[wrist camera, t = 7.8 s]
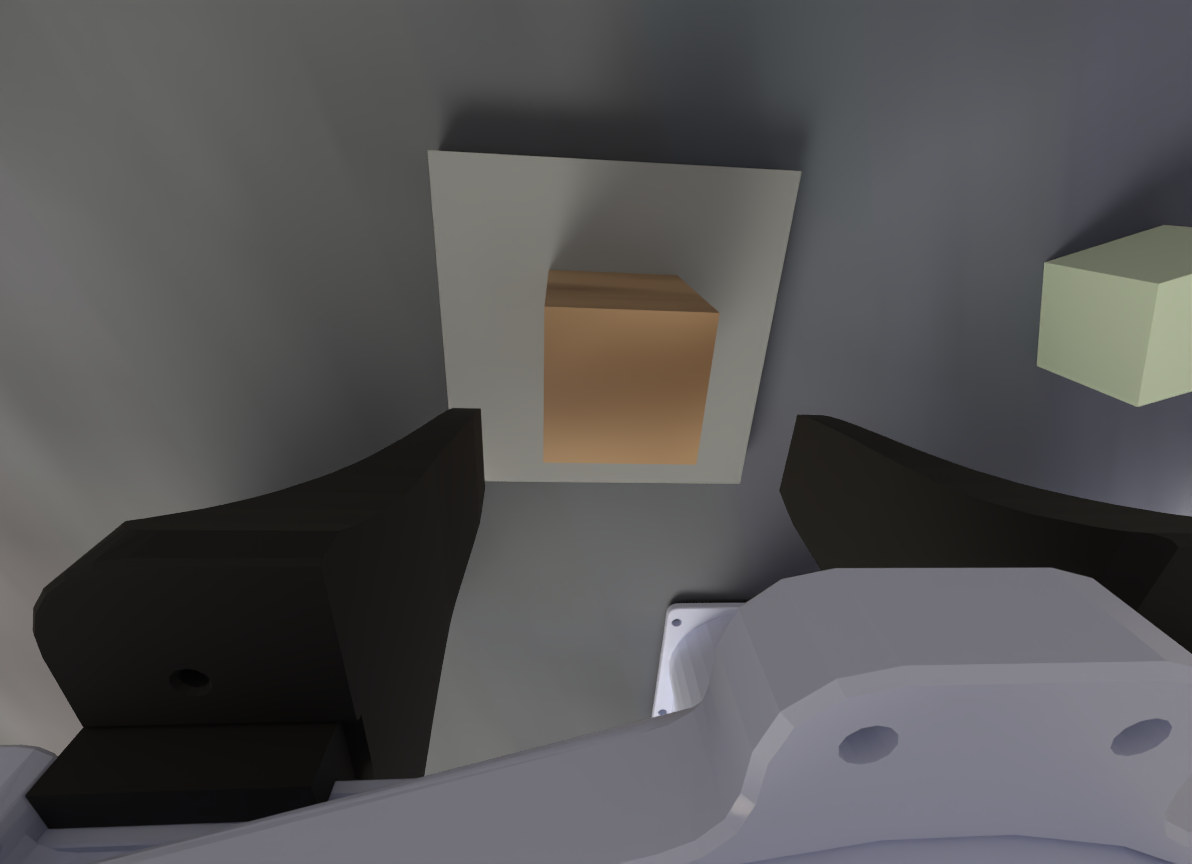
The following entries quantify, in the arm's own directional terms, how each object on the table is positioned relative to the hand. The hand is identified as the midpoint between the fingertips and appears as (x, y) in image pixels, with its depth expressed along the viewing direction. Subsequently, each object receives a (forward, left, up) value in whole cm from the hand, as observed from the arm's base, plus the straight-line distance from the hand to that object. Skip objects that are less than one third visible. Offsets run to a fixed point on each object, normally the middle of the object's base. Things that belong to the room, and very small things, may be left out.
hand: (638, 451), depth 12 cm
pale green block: (+2, -20, -10) cm, 22 cm away
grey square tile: (0, 0, -10) cm, 10 cm away
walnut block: (0, 0, -8) cm, 8 cm away
